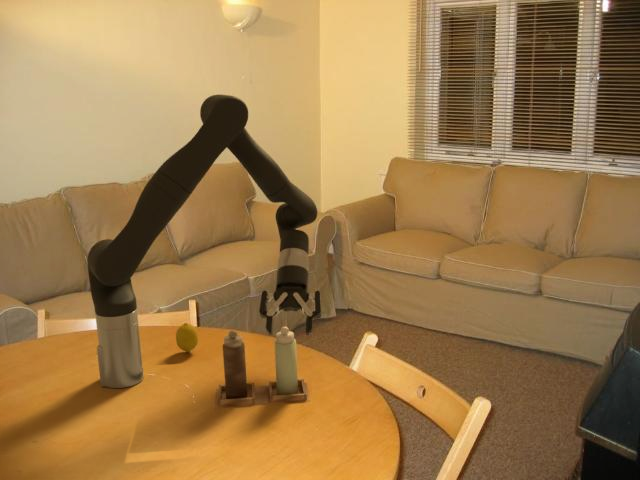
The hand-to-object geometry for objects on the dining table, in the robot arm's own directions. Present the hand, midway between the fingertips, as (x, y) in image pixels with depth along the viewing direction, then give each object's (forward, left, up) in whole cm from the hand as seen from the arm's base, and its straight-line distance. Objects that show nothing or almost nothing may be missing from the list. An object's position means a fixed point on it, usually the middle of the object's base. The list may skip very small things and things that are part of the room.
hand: (289, 333), depth 166 cm
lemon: (-25, +19, -11) cm, 33 cm away
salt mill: (-1, -11, -9) cm, 14 cm away
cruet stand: (-7, -11, -11) cm, 17 cm away
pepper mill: (-12, -11, -9) cm, 19 cm away
